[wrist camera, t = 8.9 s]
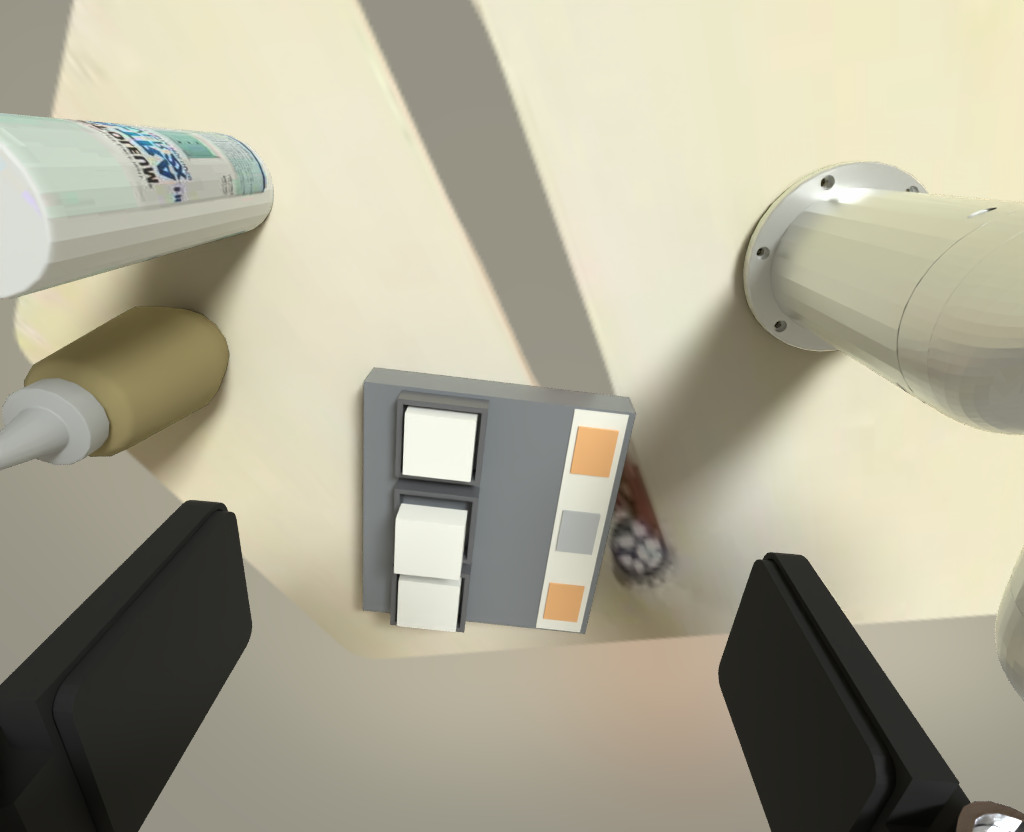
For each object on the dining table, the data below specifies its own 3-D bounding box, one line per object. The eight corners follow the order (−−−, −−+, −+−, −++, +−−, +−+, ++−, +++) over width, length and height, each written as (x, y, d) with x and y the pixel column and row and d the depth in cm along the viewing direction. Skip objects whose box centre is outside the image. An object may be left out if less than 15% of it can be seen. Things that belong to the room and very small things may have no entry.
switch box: (629, 397, 44) (639, 422, 40) (582, 609, 53) (586, 647, 49) (374, 367, 43) (357, 389, 39) (371, 586, 53) (357, 623, 48)
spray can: (166, 197, 38) (-156, 234, 20) (201, 109, 36) (-128, 60, 18) (253, 253, 40) (25, 334, 22) (293, 171, 38) (73, 185, 19)
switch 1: (478, 409, 41) (476, 421, 39) (472, 468, 43) (470, 482, 41) (410, 401, 41) (404, 412, 39) (407, 461, 43) (402, 474, 41)
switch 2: (467, 510, 42) (464, 526, 40) (462, 562, 44) (459, 580, 42) (401, 503, 42) (395, 518, 40) (399, 556, 44) (393, 573, 42)
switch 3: (462, 570, 47) (460, 586, 45) (458, 614, 49) (455, 632, 47) (403, 563, 47) (398, 580, 45) (401, 608, 49) (396, 626, 47)
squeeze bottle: (247, 401, 45) (86, 542, 28) (144, 385, 44) (-78, 519, 28) (242, 303, 41) (57, 398, 25) (131, 285, 41) (-130, 370, 25)
